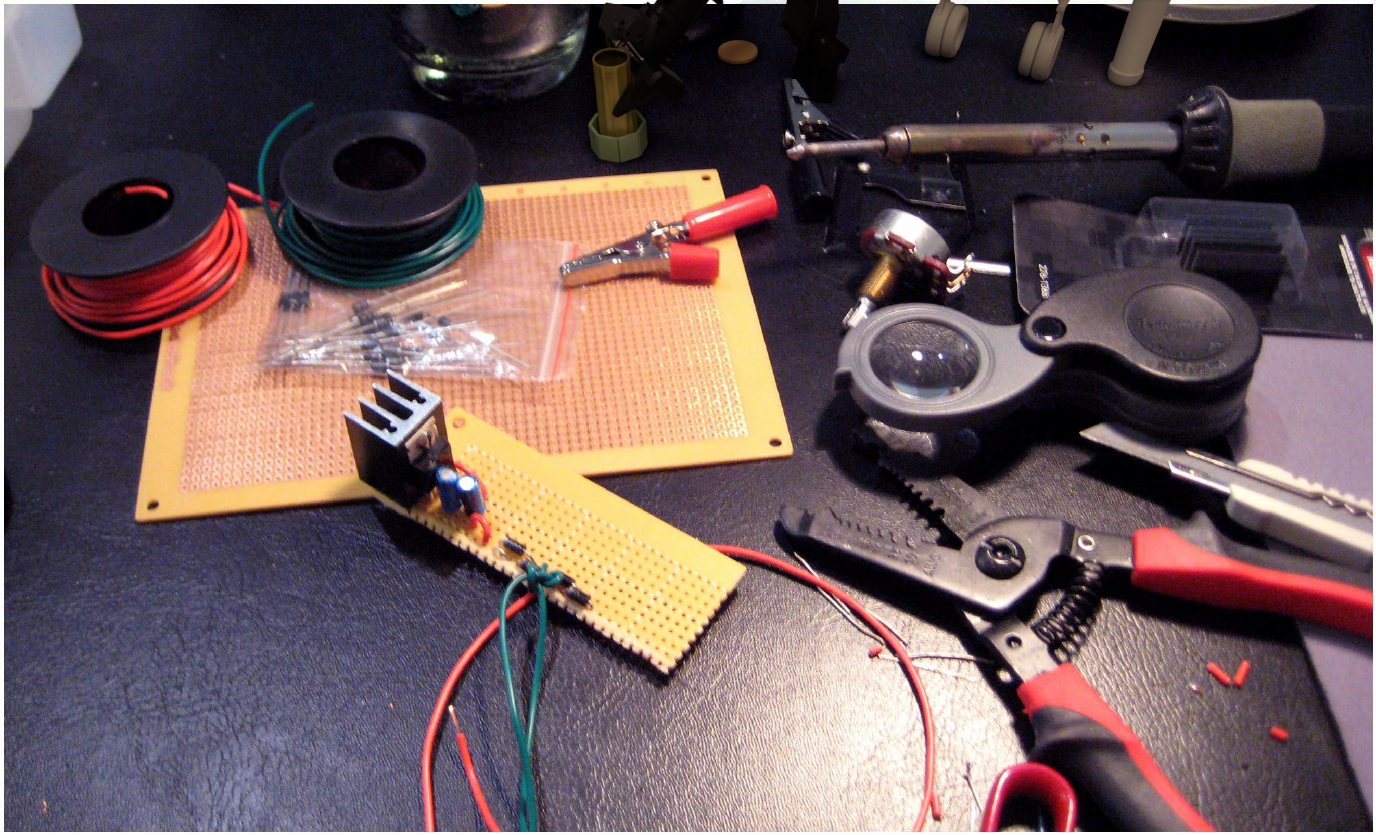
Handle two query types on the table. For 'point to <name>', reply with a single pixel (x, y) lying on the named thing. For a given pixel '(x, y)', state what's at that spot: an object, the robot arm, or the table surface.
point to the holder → (618, 142)
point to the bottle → (1137, 41)
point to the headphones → (1036, 51)
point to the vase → (612, 91)
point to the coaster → (737, 52)
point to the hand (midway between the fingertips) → (607, 105)
